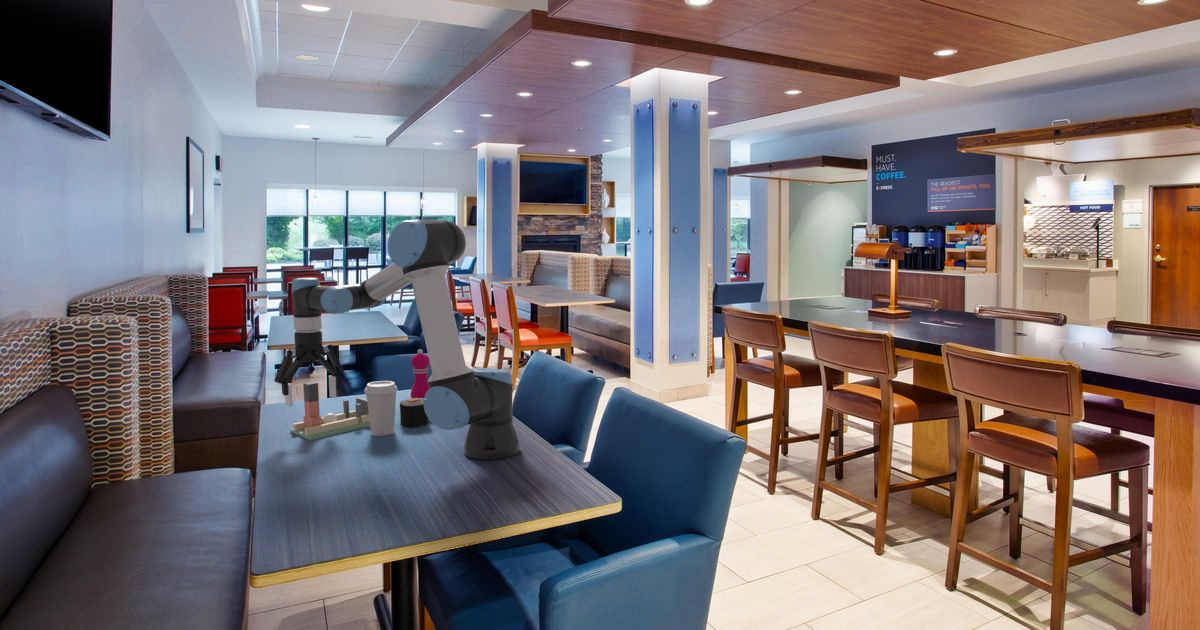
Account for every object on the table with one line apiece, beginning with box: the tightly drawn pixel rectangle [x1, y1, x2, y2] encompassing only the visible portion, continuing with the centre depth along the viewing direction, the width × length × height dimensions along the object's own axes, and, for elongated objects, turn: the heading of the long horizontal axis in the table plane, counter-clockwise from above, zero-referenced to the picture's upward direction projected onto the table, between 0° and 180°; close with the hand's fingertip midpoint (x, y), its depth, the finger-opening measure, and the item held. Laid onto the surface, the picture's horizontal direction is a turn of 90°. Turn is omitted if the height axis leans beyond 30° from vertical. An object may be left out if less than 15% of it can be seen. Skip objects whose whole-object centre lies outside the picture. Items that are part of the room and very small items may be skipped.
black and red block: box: [302, 381, 322, 429], centre depth 212 cm, size 5×3×14 cm, turn 49°
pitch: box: [289, 397, 370, 441], centre depth 218 cm, size 12×22×7 cm, turn 139°
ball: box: [323, 412, 337, 424], centre depth 217 cm, size 4×4×4 cm
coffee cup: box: [363, 380, 399, 437], centre depth 213 cm, size 10×10×15 cm
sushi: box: [398, 397, 429, 429], centre depth 223 cm, size 8×8×8 cm
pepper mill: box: [410, 348, 430, 399], centre depth 243 cm, size 7×7×20 cm
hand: (311, 401), depth 212 cm, fingers open, 13 cm apart
